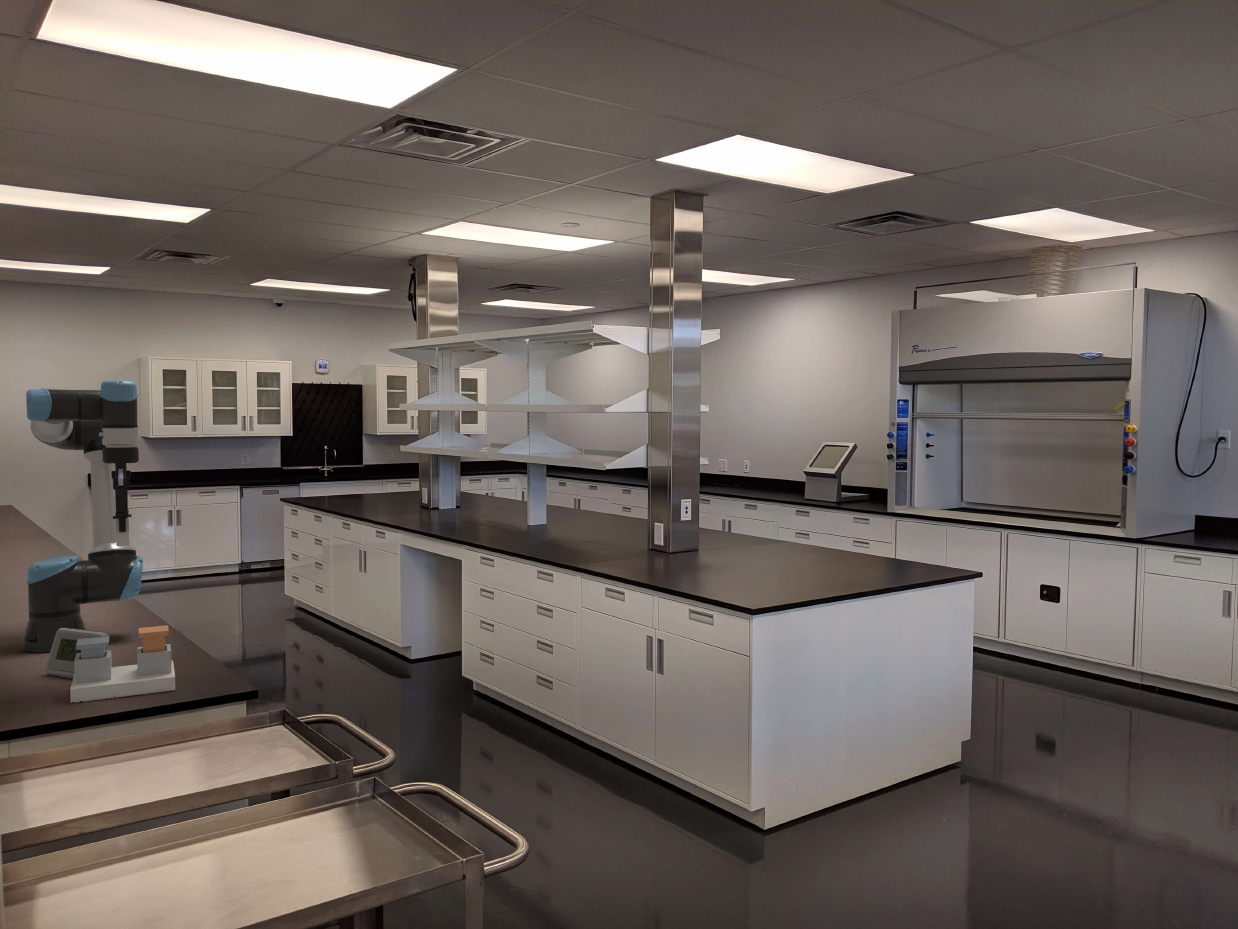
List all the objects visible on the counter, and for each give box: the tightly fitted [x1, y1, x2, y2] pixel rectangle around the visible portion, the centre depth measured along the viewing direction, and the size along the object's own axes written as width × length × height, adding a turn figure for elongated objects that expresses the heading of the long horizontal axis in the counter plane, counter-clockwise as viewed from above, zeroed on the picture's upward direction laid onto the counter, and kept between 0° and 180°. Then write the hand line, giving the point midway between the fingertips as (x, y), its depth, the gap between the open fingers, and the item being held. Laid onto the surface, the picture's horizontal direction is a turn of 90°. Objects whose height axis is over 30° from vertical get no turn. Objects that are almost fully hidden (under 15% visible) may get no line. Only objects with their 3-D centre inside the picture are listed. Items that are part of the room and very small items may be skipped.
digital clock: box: [45, 628, 111, 679], centre depth 211 cm, size 16×9×11 cm, turn 58°
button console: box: [69, 643, 176, 704], centre depth 202 cm, size 15×20×8 cm
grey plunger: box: [76, 635, 110, 659], centre depth 199 cm, size 6×6×8 cm
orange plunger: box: [138, 625, 170, 653], centre depth 205 cm, size 6×6×8 cm
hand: (122, 545), depth 213 cm, fingers closed
